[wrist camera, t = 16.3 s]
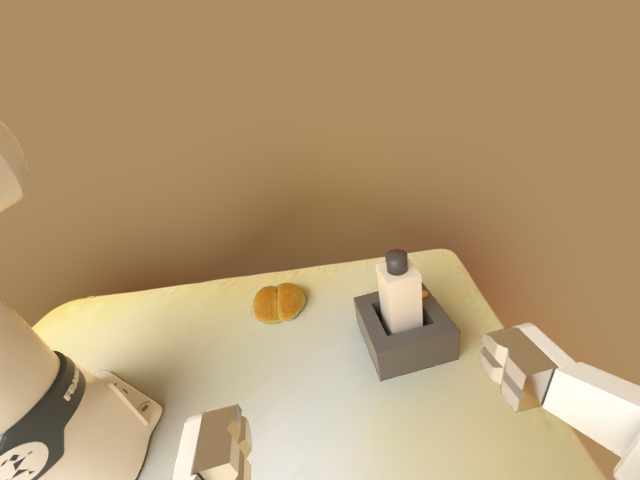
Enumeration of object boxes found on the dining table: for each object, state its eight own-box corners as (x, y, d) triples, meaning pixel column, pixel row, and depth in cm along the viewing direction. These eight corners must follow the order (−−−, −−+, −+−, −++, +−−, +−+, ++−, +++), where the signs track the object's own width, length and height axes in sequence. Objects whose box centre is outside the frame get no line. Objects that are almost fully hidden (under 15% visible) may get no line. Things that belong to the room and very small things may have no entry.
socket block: (380, 381, 36) (376, 352, 34) (357, 322, 45) (353, 296, 42) (458, 359, 37) (459, 329, 34) (420, 305, 45) (420, 278, 43)
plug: (393, 350, 38) (385, 269, 32) (382, 327, 42) (373, 250, 36) (423, 341, 39) (420, 260, 32) (409, 320, 42) (405, 242, 36)
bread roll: (307, 320, 48) (301, 301, 46) (253, 330, 48) (245, 312, 46) (306, 287, 55) (301, 270, 53) (259, 296, 55) (252, 279, 53)
